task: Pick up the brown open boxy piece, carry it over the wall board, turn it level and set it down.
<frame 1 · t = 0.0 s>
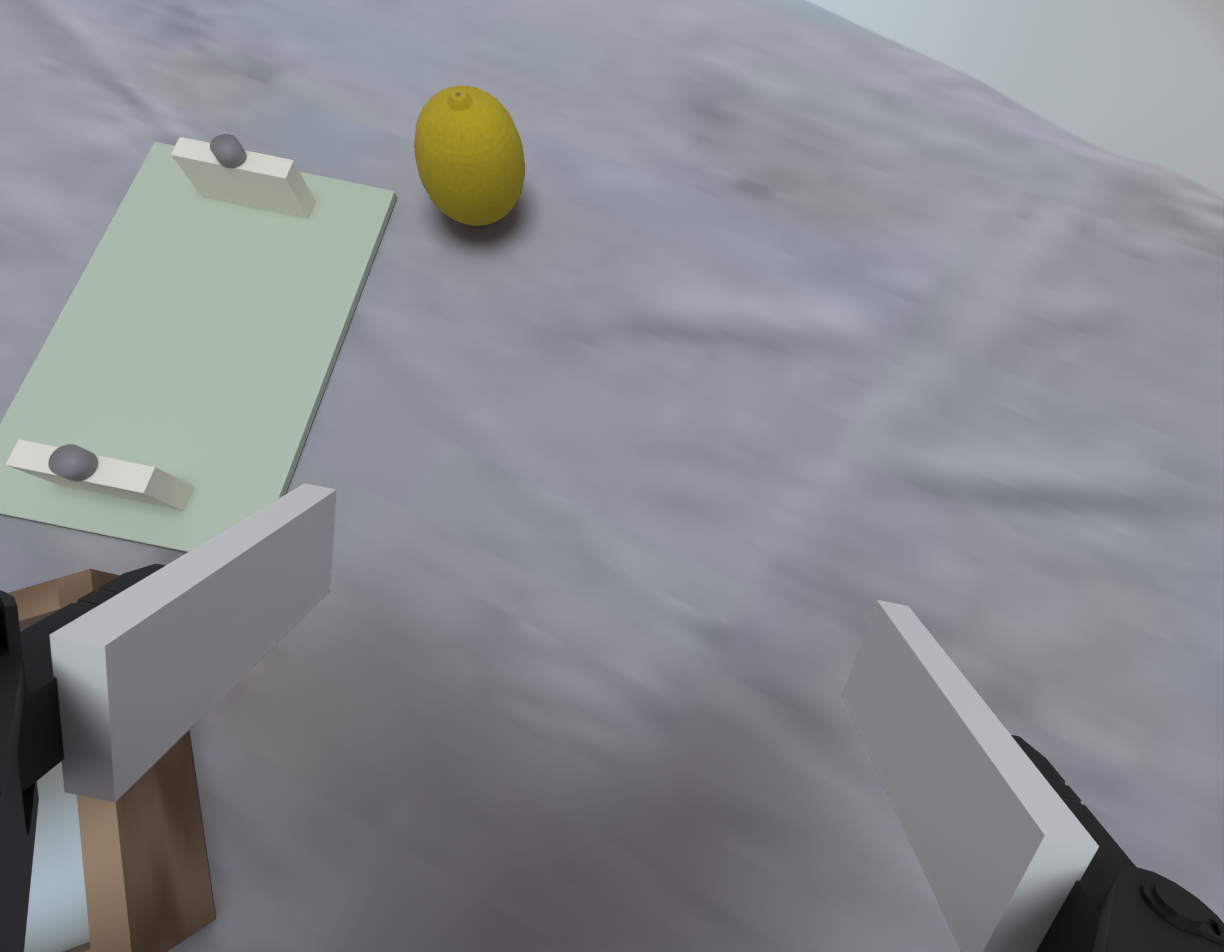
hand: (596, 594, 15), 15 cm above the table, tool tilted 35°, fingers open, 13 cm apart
brown open boxy piece: (78, 779, 26), on the table
lemon: (481, 217, 37), on the table
wall board: (204, 336, 33), on the table
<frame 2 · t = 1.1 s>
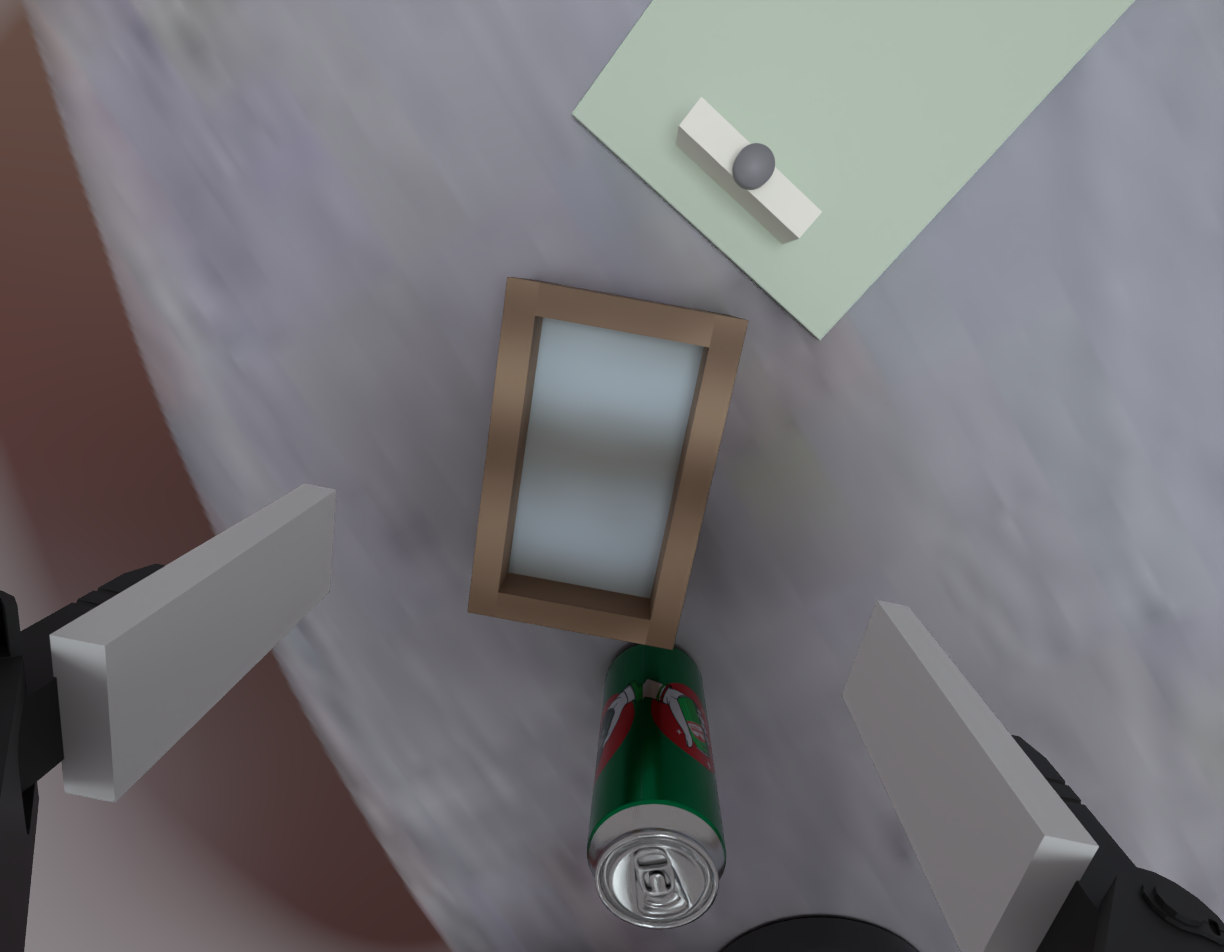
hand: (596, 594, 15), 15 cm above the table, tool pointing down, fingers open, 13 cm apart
soda can: (653, 676, 33), on the table
brown open boxy piece: (604, 448, 30), on the table
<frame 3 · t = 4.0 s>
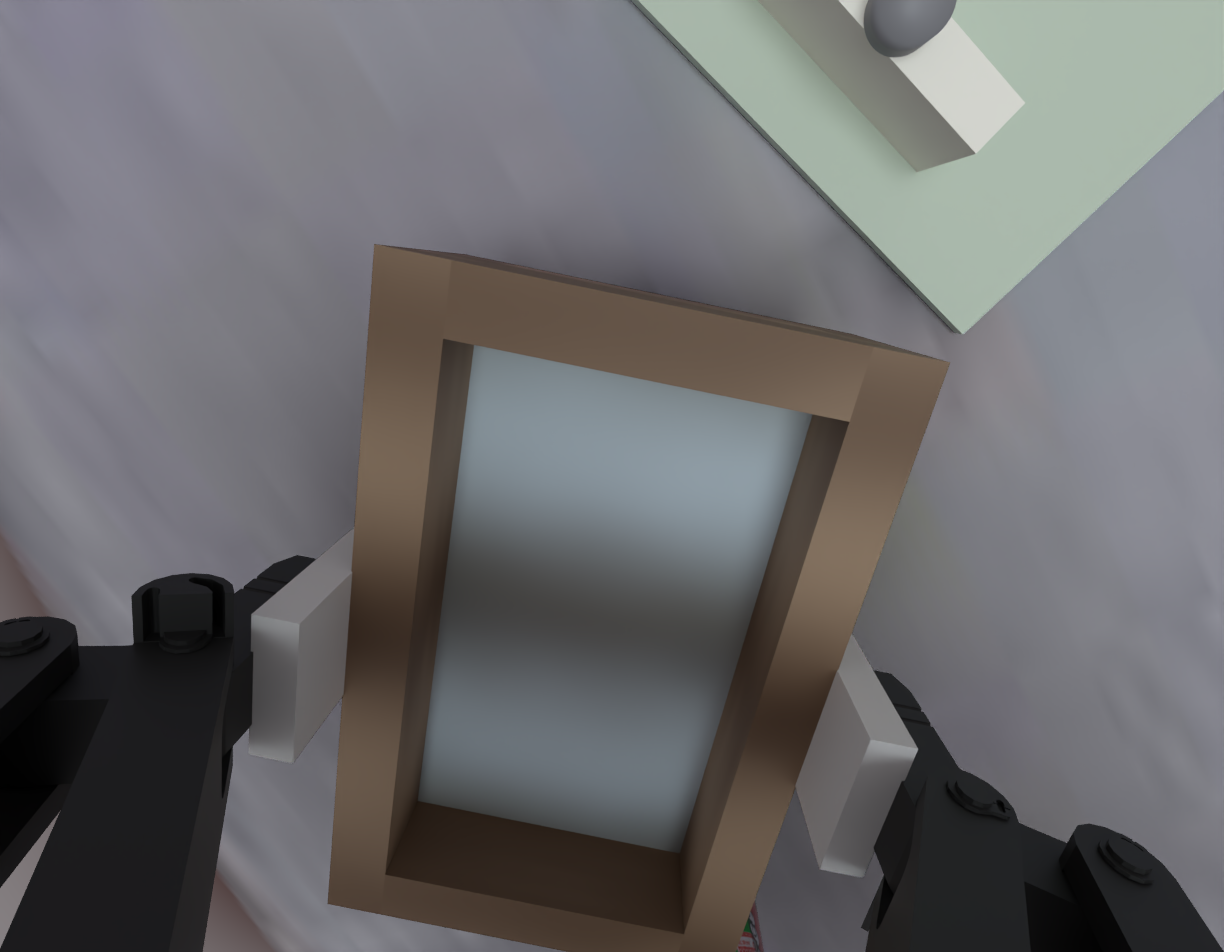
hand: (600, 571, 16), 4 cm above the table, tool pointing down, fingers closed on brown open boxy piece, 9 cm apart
soda can: (671, 800, 24), on the table
brown open boxy piece: (601, 565, 17), point 3 cm above the table, touching gripper
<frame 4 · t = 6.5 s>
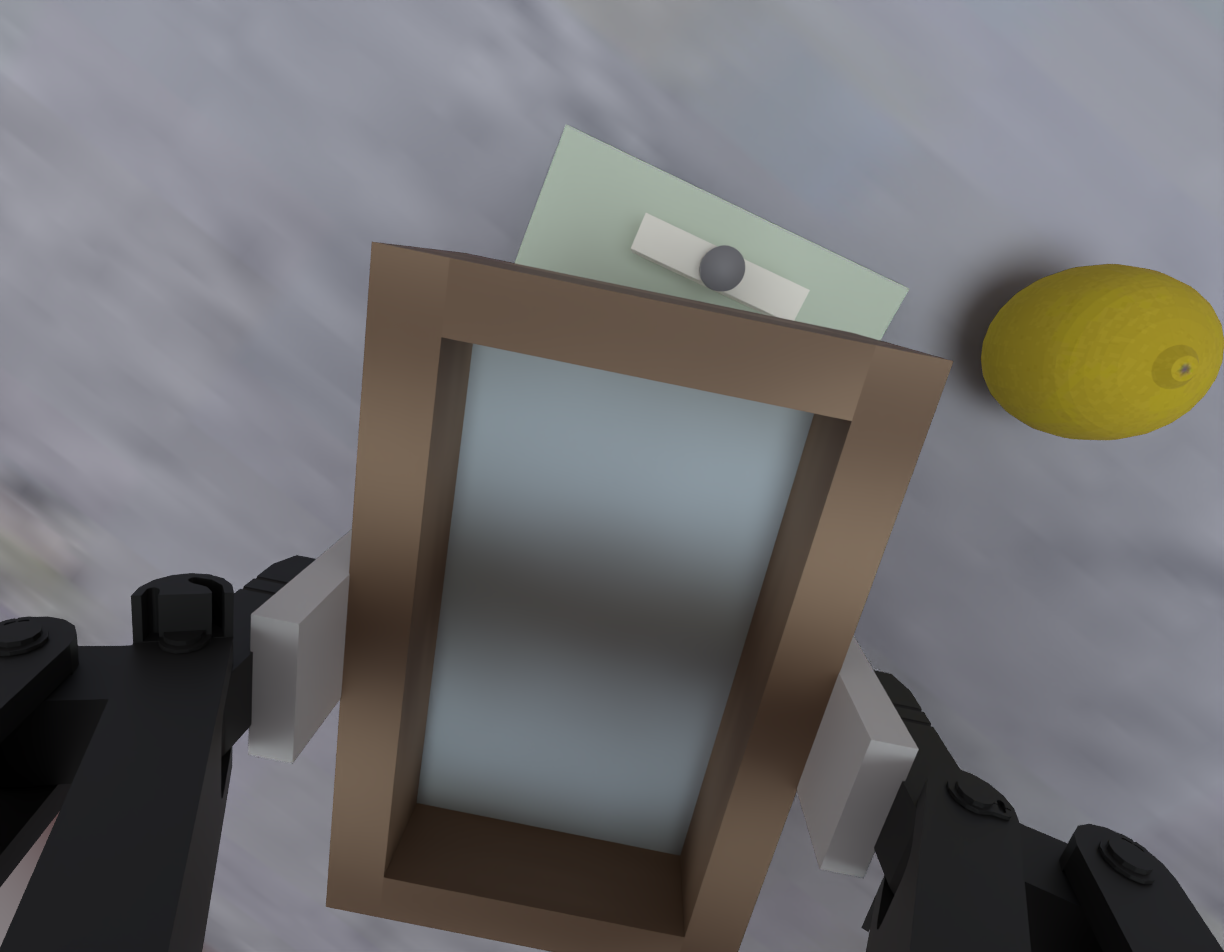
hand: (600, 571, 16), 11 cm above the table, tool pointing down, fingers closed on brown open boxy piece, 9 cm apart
brown open boxy piece: (601, 565, 16), point 11 cm above the table, touching gripper
lemon: (1014, 342, 24), on the table
wall board: (619, 466, 27), on the table
when the fingers open (1 cm above the table, at t = 9.0 s): brown open boxy piece stays where it is, resting on wall board.
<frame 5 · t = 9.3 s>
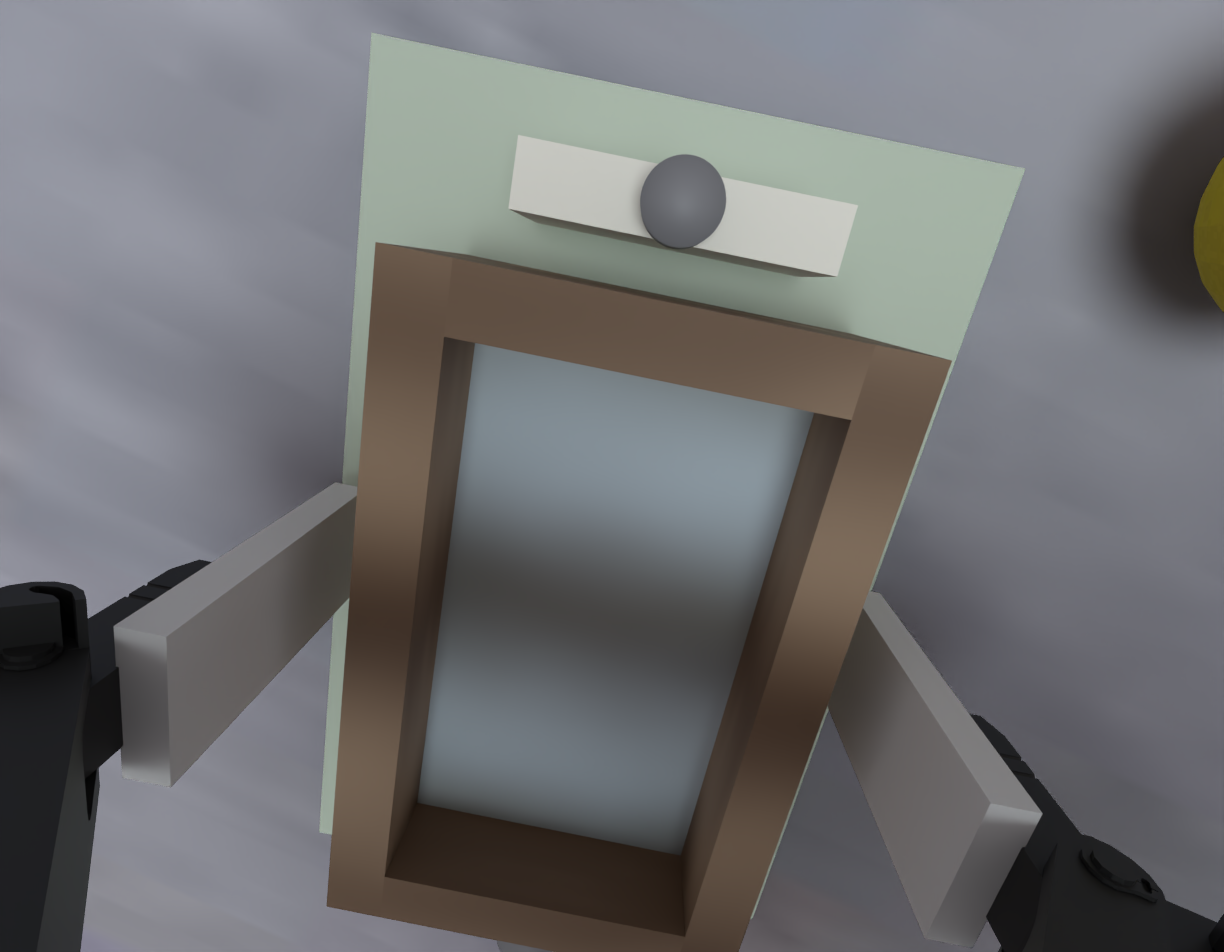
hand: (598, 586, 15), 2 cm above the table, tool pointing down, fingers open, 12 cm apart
brown open boxy piece: (601, 565, 16), resting on wall board
wall board: (602, 559, 17), on the table
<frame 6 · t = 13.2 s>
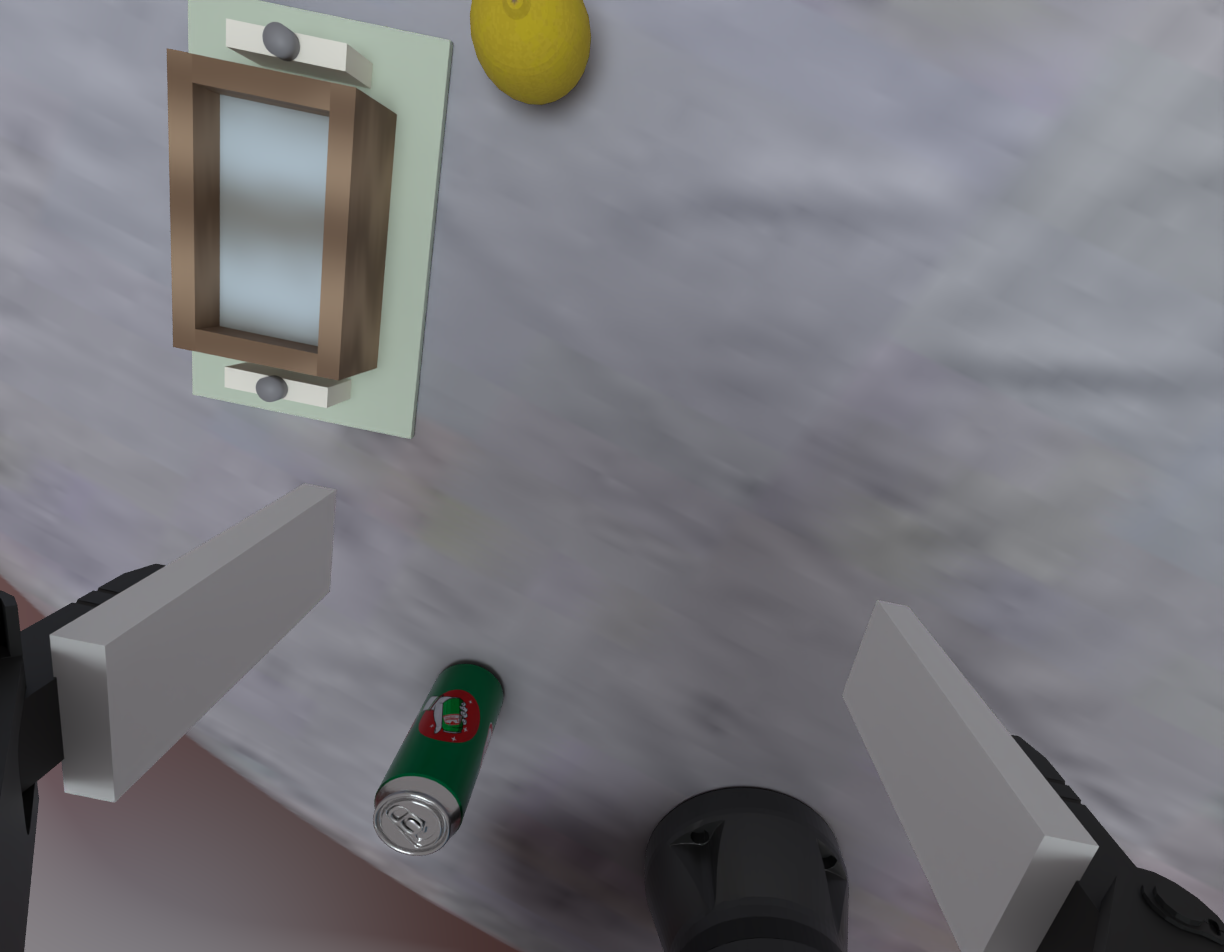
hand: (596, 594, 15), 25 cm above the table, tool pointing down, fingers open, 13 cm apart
soda can: (471, 687, 46), on the table
brown open boxy piece: (309, 232, 36), resting on wall board
lemon: (545, 64, 34), on the table
wall board: (314, 234, 37), on the table
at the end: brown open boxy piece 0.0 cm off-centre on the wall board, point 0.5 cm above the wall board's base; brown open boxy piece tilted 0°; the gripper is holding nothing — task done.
